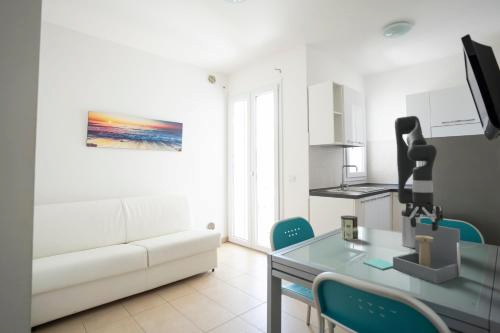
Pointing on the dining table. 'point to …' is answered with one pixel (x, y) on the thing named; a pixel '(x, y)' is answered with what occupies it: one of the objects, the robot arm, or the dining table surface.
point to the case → (433, 255)
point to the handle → (424, 250)
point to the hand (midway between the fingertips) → (423, 228)
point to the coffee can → (349, 227)
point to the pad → (379, 264)
